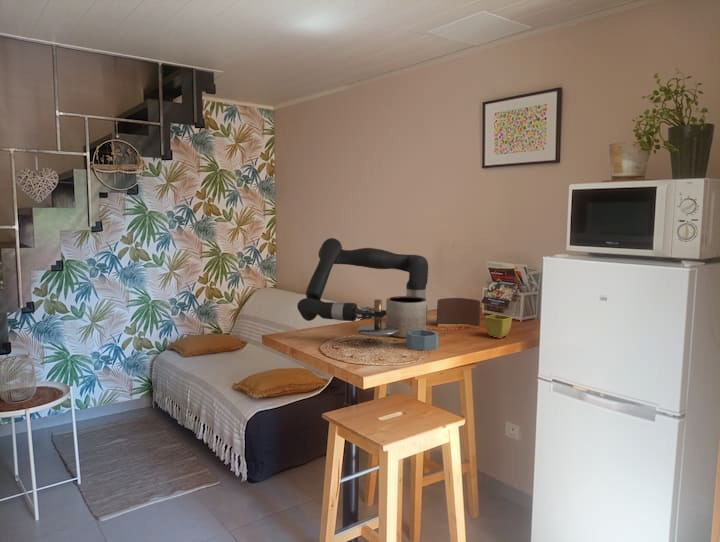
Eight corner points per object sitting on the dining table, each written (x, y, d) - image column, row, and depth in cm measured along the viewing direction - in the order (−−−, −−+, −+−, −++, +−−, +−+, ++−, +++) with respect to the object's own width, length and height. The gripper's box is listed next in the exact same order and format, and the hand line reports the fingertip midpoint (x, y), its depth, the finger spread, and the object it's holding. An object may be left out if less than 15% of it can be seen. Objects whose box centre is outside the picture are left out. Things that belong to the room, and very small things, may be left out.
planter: (402, 340, 228) (402, 303, 226) (377, 332, 243) (378, 297, 241) (434, 335, 238) (435, 300, 236) (408, 328, 253) (409, 294, 251)
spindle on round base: (388, 325, 233) (388, 295, 232) (405, 333, 218) (406, 302, 216) (351, 328, 227) (351, 297, 226) (365, 337, 212) (366, 304, 210)
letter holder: (479, 328, 254) (480, 298, 252) (436, 327, 257) (437, 297, 255) (478, 324, 264) (479, 295, 262) (436, 322, 266) (437, 294, 265)
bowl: (427, 341, 227) (428, 328, 226) (443, 348, 215) (443, 335, 215) (401, 344, 222) (401, 331, 221) (416, 351, 211) (416, 337, 210)
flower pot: (512, 337, 237) (512, 316, 236) (502, 340, 230) (503, 319, 229) (493, 334, 243) (494, 314, 242) (483, 337, 236) (484, 316, 235)
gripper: (338, 305, 219) (380, 307, 214) (349, 299, 232) (389, 302, 227) (338, 323, 220) (380, 326, 215) (349, 317, 233) (389, 319, 228)
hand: (384, 314), depth 221 cm, fingers closed on spindle on round base, 3 cm apart
